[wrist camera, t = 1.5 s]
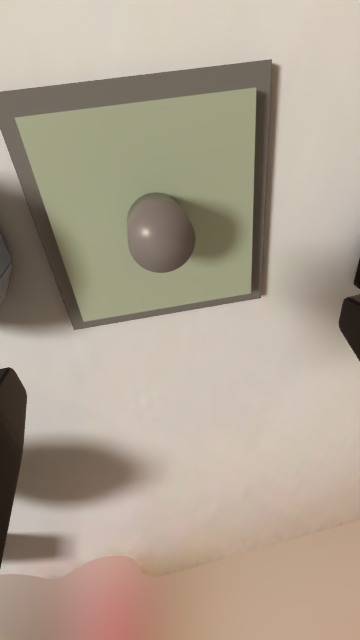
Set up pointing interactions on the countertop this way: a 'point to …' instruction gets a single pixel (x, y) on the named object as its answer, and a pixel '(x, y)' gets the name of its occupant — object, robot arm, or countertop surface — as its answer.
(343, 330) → the robot arm
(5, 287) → the bowl
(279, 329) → the countertop surface
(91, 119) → the cover
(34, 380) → the countertop surface
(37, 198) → the rubber mat
